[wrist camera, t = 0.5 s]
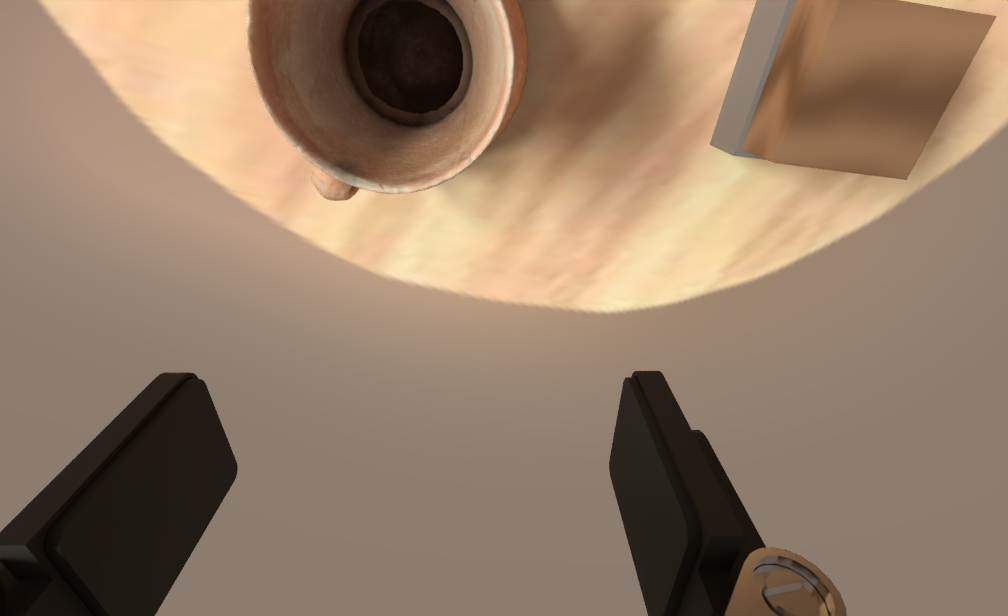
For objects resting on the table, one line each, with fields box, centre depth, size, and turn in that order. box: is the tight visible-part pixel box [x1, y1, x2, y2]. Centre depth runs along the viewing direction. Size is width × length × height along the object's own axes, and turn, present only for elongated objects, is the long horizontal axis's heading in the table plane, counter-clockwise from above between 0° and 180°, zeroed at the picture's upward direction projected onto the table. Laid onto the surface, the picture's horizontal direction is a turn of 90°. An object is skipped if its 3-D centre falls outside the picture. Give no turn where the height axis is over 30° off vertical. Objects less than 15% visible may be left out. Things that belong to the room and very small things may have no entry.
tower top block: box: [741, 0, 996, 180], centre depth 29 cm, size 9×9×4 cm
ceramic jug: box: [246, 0, 528, 201], centre depth 27 cm, size 18×14×14 cm
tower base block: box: [710, 0, 795, 160], centre depth 33 cm, size 10×10×4 cm
